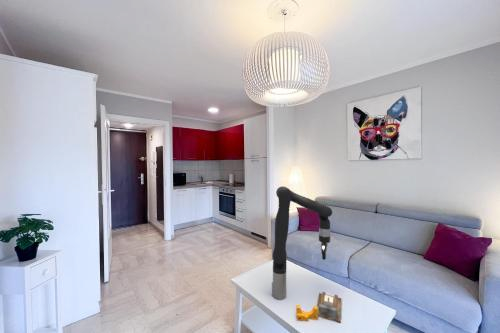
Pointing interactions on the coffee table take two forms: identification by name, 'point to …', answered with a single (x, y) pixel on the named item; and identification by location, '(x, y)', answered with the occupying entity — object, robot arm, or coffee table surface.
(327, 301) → the white cube with stick
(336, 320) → the gauge board
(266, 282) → the coffee table surface
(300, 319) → the pipe clamp
